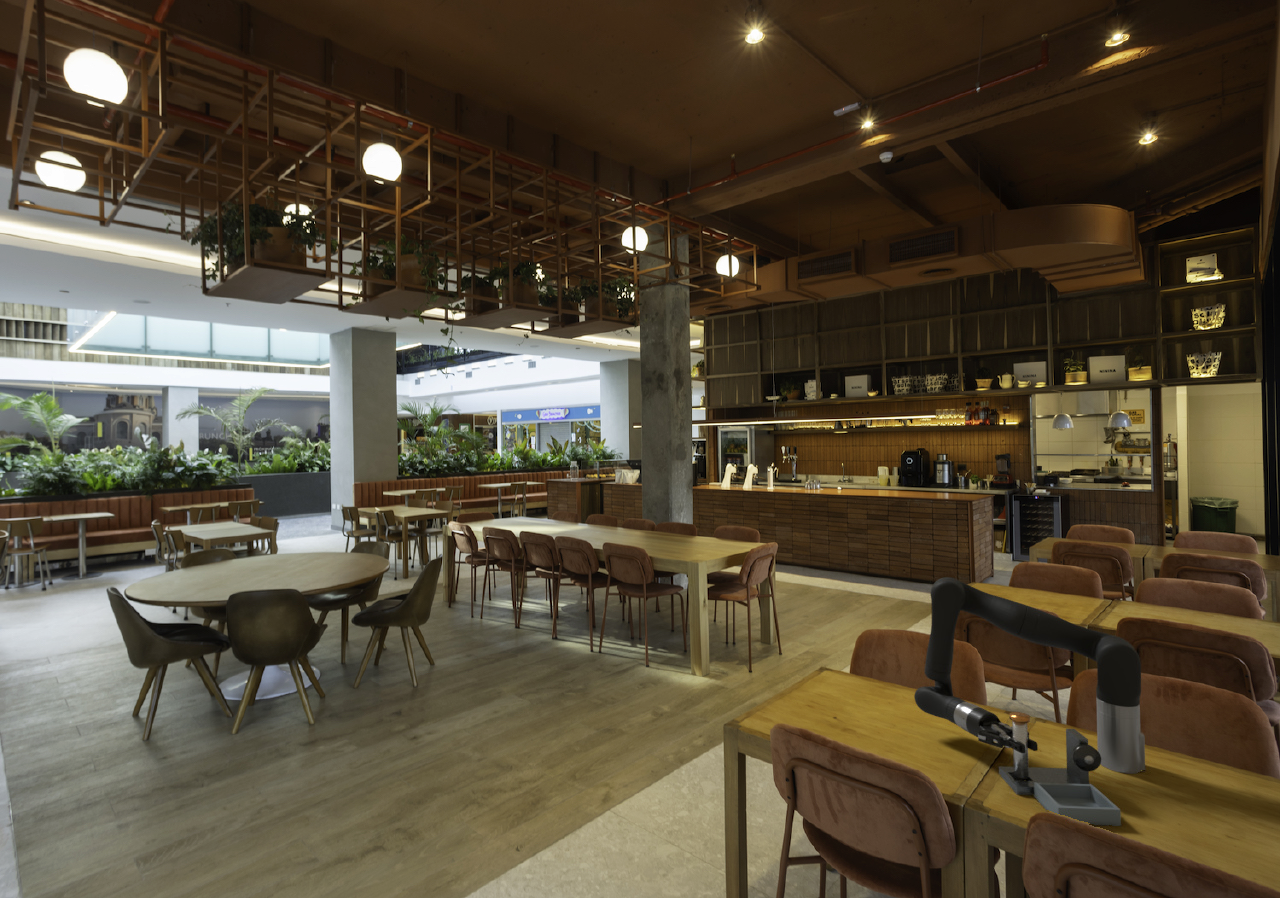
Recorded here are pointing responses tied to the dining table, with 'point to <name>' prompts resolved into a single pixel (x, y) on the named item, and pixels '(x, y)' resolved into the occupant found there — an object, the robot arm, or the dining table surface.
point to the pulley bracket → (1077, 770)
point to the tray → (1078, 802)
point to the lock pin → (1021, 735)
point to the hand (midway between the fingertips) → (1030, 748)
